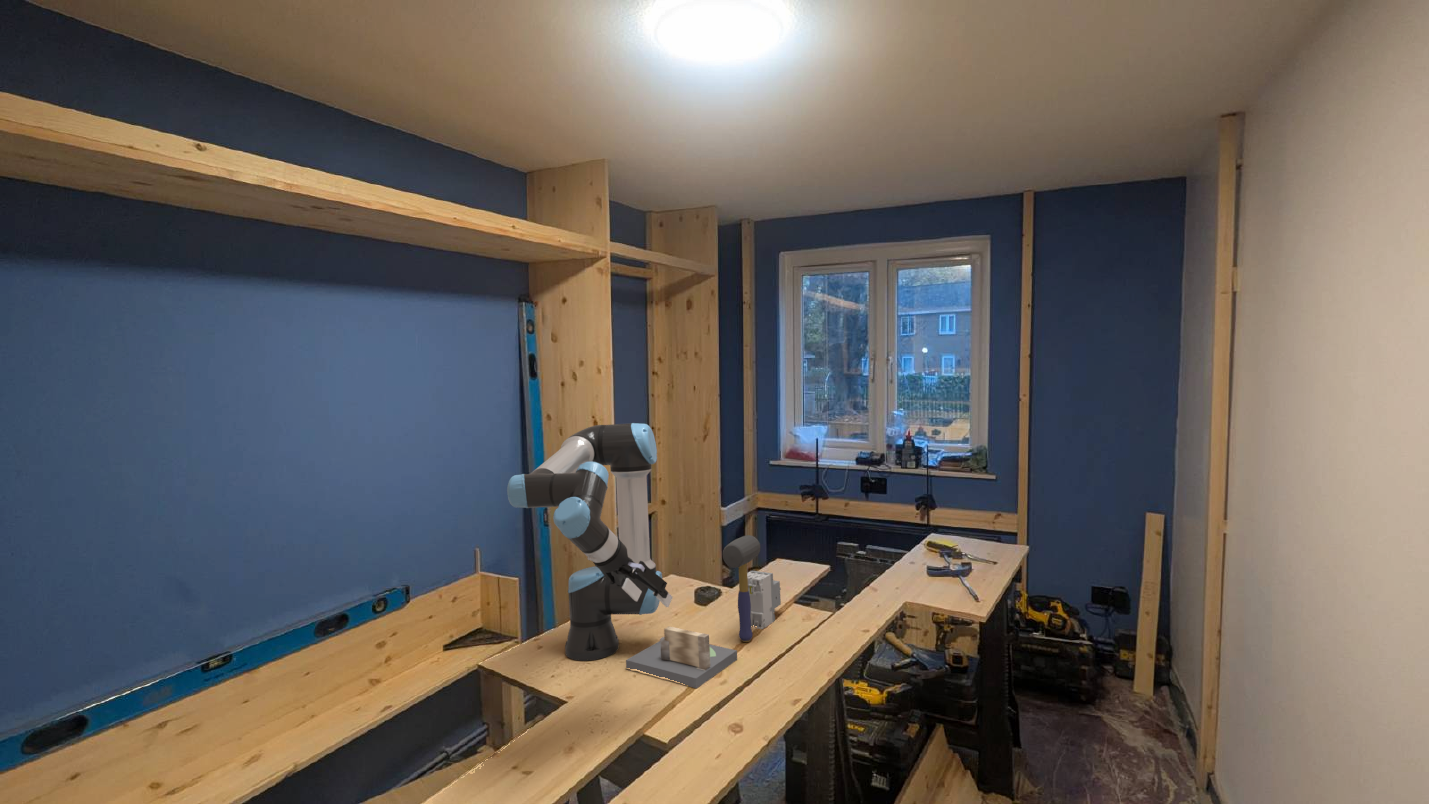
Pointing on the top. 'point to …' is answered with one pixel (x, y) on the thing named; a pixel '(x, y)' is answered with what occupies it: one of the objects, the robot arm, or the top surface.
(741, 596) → the rubber mallet
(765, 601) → the circuit breaker
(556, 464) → the robot arm
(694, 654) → the wooden block
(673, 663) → the board
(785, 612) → the top surface
